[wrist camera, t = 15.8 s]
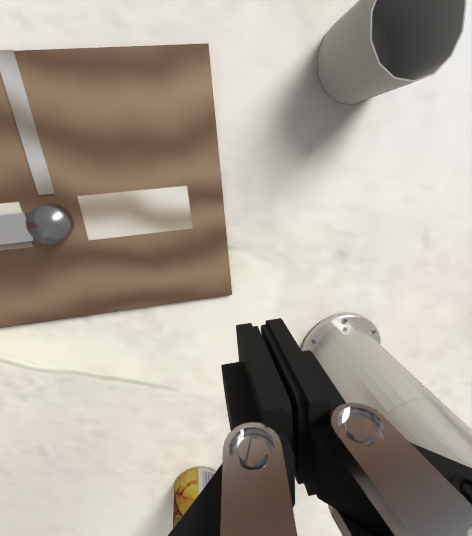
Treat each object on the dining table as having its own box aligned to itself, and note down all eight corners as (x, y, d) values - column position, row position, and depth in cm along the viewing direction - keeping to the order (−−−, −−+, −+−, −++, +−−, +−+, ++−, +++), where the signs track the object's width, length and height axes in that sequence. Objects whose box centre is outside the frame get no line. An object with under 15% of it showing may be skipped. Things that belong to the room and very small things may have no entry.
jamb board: (231, 292, 40) (234, 301, 37) (-81, 337, 35) (-101, 350, 33) (207, 45, 30) (209, 35, 28) (-228, 62, 25) (-272, 51, 23)
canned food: (166, 493, 50) (160, 587, 39) (188, 461, 49) (188, 549, 38) (206, 502, 53) (211, 593, 42) (228, 472, 51) (240, 558, 40)
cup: (302, 73, 32) (349, 36, 23) (346, -4, 31) (416, -77, 21) (357, 119, 35) (420, 102, 26) (401, 50, 33) (485, 6, 24)
